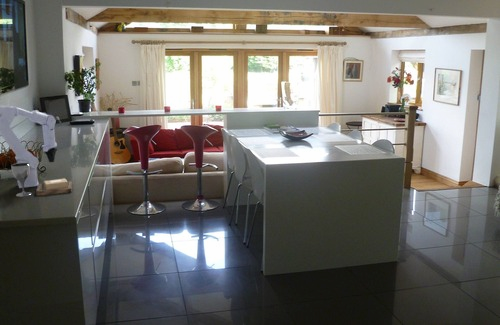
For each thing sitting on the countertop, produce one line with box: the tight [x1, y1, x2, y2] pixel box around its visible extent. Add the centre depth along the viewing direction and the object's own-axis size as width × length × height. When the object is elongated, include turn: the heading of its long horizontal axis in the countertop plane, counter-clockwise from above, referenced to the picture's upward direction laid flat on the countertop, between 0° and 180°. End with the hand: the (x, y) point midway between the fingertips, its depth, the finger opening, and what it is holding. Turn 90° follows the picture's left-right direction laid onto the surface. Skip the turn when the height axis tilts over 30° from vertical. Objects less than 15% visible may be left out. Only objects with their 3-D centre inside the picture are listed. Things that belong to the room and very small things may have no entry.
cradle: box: [35, 180, 73, 196], centre depth 246 cm, size 16×14×2 cm
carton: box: [43, 177, 69, 190], centre depth 245 cm, size 10×7×5 cm
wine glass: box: [10, 162, 33, 198], centre depth 238 cm, size 8×8×15 cm
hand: (51, 161), depth 265 cm, fingers closed
